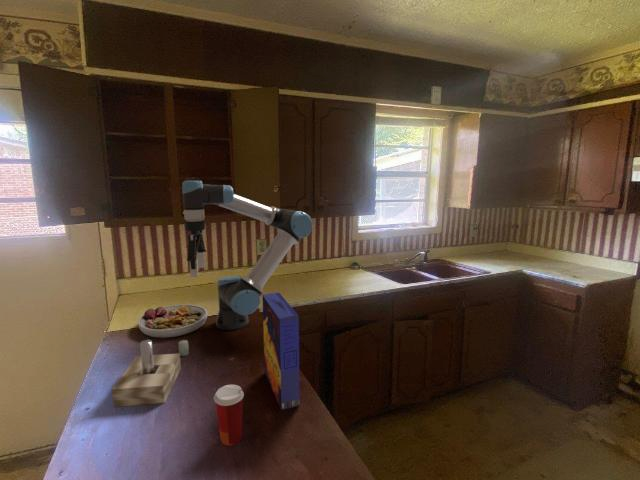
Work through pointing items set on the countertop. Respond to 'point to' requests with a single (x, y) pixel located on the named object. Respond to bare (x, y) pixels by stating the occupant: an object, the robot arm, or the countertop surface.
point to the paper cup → (229, 413)
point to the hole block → (147, 381)
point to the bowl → (172, 320)
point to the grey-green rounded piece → (183, 348)
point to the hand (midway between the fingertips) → (198, 272)
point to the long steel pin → (147, 357)
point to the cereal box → (281, 349)
